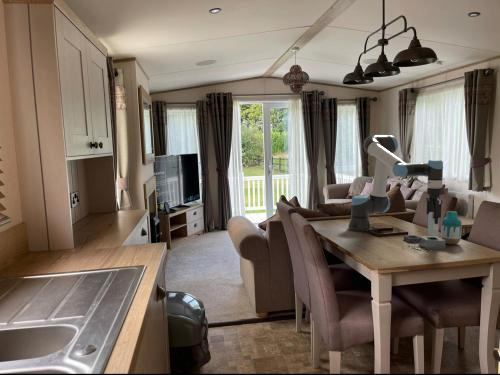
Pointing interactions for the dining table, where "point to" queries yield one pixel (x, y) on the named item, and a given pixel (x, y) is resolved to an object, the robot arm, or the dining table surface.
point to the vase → (451, 228)
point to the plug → (431, 225)
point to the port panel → (432, 242)
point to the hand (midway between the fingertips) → (433, 228)
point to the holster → (411, 238)
